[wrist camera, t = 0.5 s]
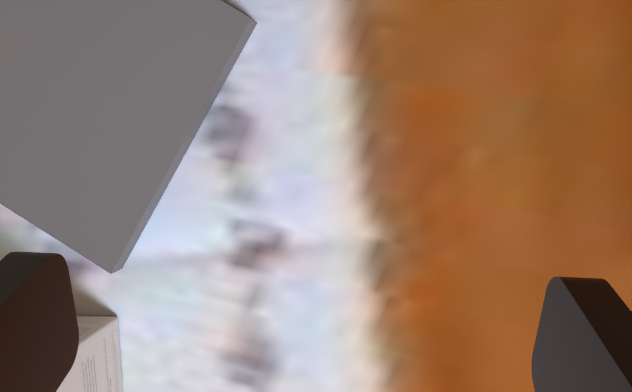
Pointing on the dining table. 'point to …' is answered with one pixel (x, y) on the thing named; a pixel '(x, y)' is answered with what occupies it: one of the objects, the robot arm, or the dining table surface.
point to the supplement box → (96, 357)
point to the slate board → (105, 109)
